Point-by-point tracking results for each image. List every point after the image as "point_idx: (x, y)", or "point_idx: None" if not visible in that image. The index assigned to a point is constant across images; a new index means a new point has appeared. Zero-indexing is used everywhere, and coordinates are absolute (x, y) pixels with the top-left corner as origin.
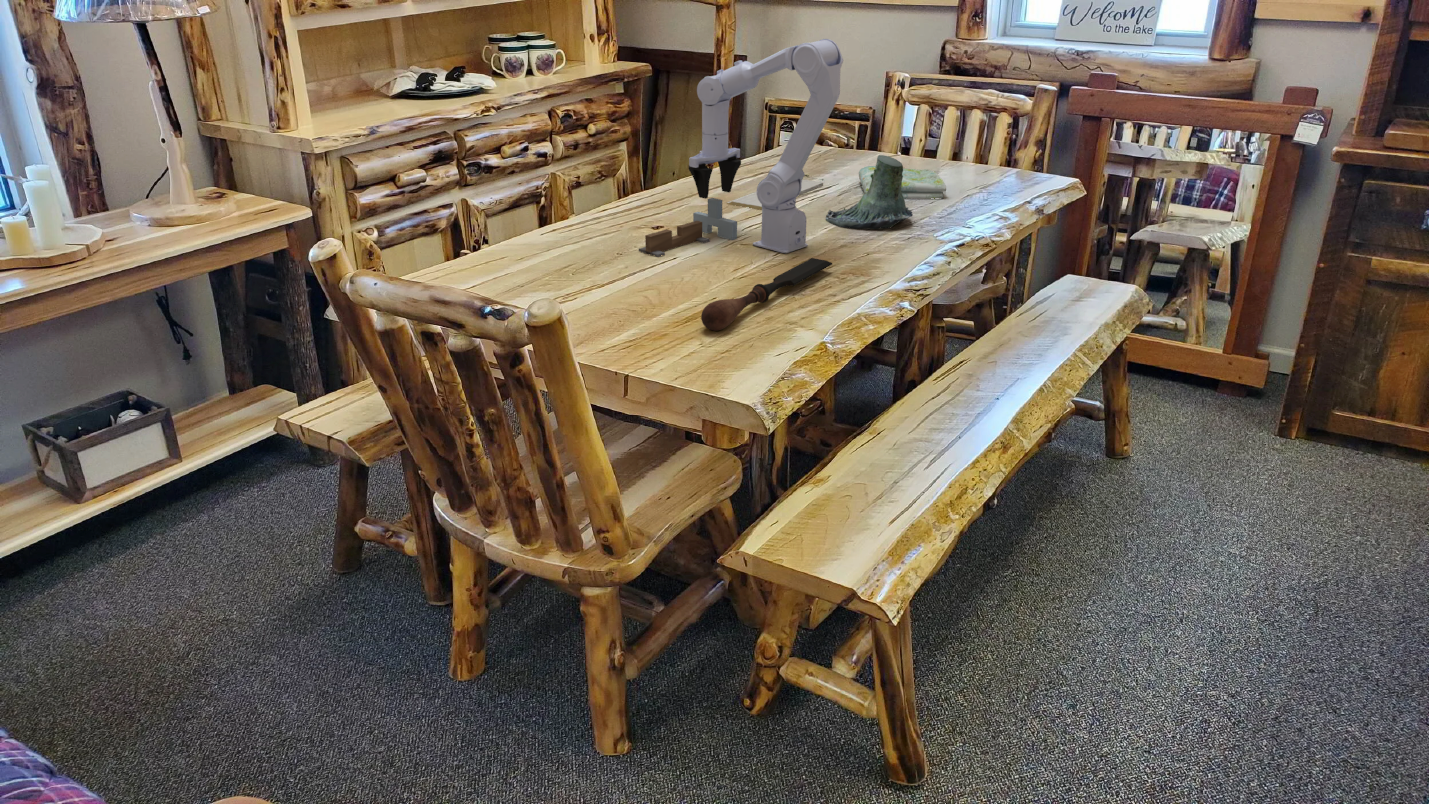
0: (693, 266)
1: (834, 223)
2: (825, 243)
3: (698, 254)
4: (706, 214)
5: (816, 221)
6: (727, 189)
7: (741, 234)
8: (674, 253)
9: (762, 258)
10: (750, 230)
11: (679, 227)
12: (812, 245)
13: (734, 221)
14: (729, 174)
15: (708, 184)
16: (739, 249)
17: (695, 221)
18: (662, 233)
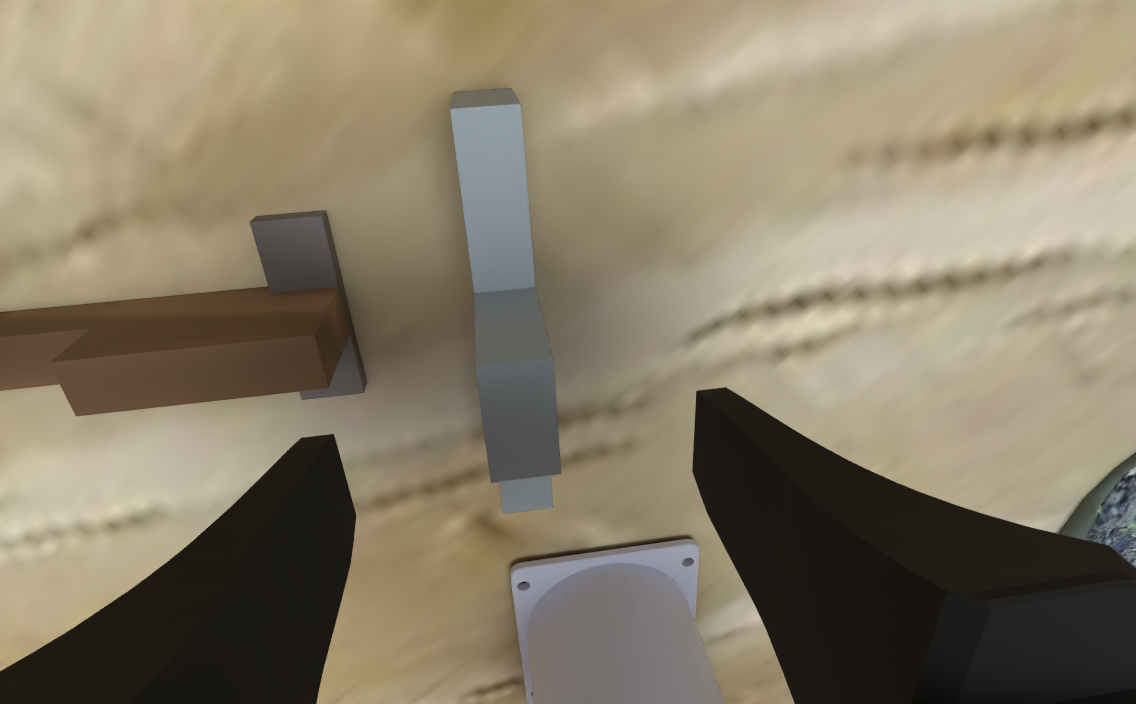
0: (16, 642)
1: (1066, 534)
2: (773, 676)
3: (151, 523)
4: (510, 238)
5: (1085, 446)
6: (704, 473)
7: (627, 389)
8: (8, 438)
9: (408, 695)
10: (731, 361)
11: (63, 388)
12: (714, 671)
13: (534, 503)
14: (784, 629)
15: (312, 680)
16: (412, 568)
17: (286, 345)
18: None
